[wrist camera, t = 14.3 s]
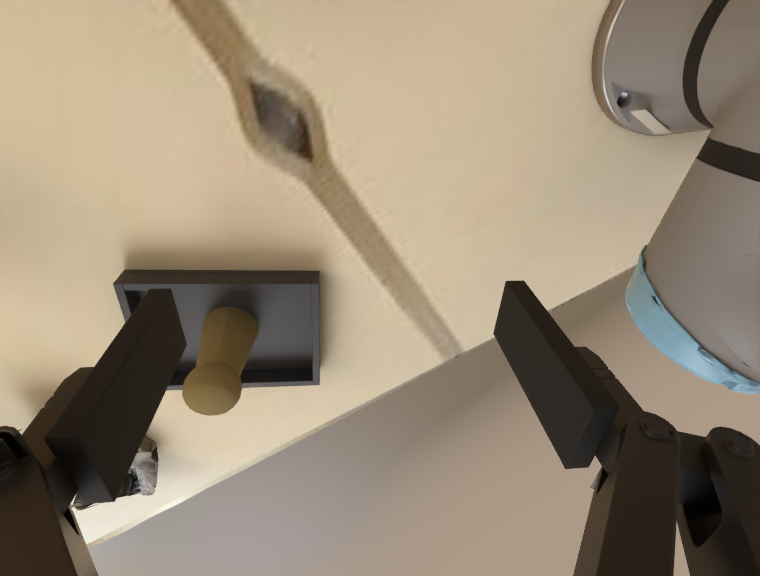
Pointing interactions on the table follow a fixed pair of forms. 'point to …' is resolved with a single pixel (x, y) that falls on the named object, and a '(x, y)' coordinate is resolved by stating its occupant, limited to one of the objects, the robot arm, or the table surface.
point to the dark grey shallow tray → (252, 294)
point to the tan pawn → (220, 361)
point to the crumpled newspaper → (135, 474)
